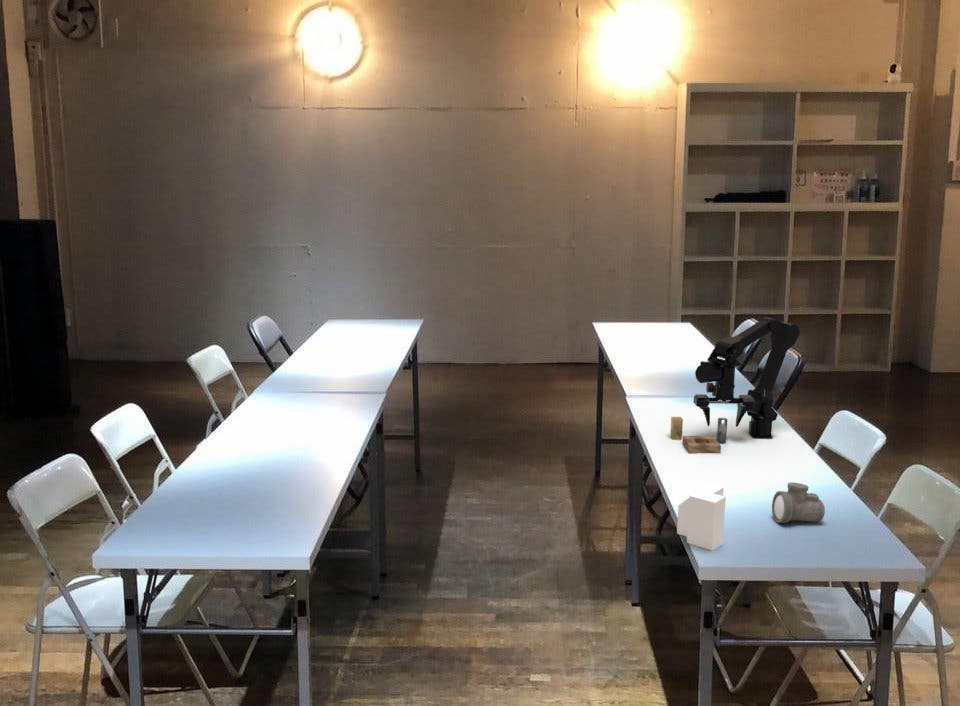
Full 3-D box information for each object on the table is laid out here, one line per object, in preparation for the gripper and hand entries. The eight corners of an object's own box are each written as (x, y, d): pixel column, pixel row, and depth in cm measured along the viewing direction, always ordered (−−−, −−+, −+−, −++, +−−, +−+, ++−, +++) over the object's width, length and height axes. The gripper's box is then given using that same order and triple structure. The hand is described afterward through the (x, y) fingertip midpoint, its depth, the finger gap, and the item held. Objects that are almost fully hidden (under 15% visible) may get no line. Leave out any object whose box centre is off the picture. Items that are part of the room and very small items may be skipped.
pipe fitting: (779, 526, 233) (786, 487, 232) (768, 517, 241) (774, 478, 240) (825, 531, 234) (832, 492, 233) (812, 521, 242) (819, 483, 241)
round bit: (724, 441, 305) (726, 417, 303) (726, 443, 302) (728, 420, 300) (715, 441, 305) (717, 417, 303) (717, 443, 302) (719, 420, 300)
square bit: (679, 437, 309) (681, 416, 308) (681, 439, 306) (682, 419, 304) (670, 436, 309) (671, 416, 308) (672, 439, 306) (673, 419, 304)
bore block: (713, 444, 301) (713, 436, 301) (720, 453, 292) (721, 445, 291) (682, 443, 302) (682, 436, 301) (688, 453, 292) (689, 445, 291)
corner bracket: (712, 550, 220) (715, 502, 217) (670, 537, 227) (672, 491, 225) (732, 537, 227) (736, 491, 225) (691, 525, 235) (694, 480, 232)
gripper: (747, 374, 307) (744, 419, 310) (691, 373, 307) (688, 419, 310) (757, 382, 296) (753, 429, 299) (698, 381, 296) (695, 428, 299)
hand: (722, 426), depth 302 cm, fingers open, 9 cm apart
